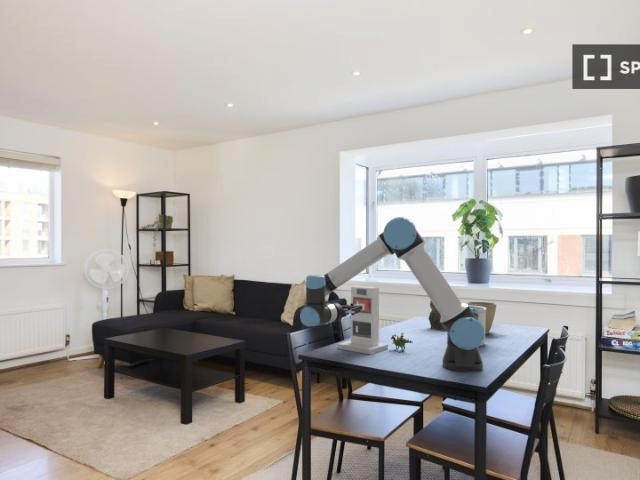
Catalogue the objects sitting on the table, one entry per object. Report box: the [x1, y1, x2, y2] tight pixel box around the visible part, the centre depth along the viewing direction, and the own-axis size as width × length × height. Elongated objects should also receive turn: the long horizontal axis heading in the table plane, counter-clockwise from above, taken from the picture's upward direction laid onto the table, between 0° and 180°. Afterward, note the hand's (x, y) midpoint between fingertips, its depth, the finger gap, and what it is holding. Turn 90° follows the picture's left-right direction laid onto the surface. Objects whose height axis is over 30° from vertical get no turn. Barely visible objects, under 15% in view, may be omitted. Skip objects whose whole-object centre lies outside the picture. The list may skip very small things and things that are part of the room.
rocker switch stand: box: [337, 285, 389, 355], centre depth 207 cm, size 14×18×28 cm
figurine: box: [390, 332, 414, 352], centre depth 203 cm, size 3×12×8 cm, turn 45°
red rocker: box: [355, 299, 369, 312], centre depth 206 cm, size 2×8×5 cm, turn 39°
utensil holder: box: [467, 304, 486, 347], centre depth 219 cm, size 15×15×18 cm
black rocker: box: [353, 323, 371, 336], centre depth 206 cm, size 2×8×5 cm, turn 63°
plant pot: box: [467, 301, 497, 335], centre depth 247 cm, size 15×15×16 cm
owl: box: [428, 300, 447, 332], centre depth 260 cm, size 13×13×20 cm
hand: (363, 306), depth 202 cm, fingers closed
